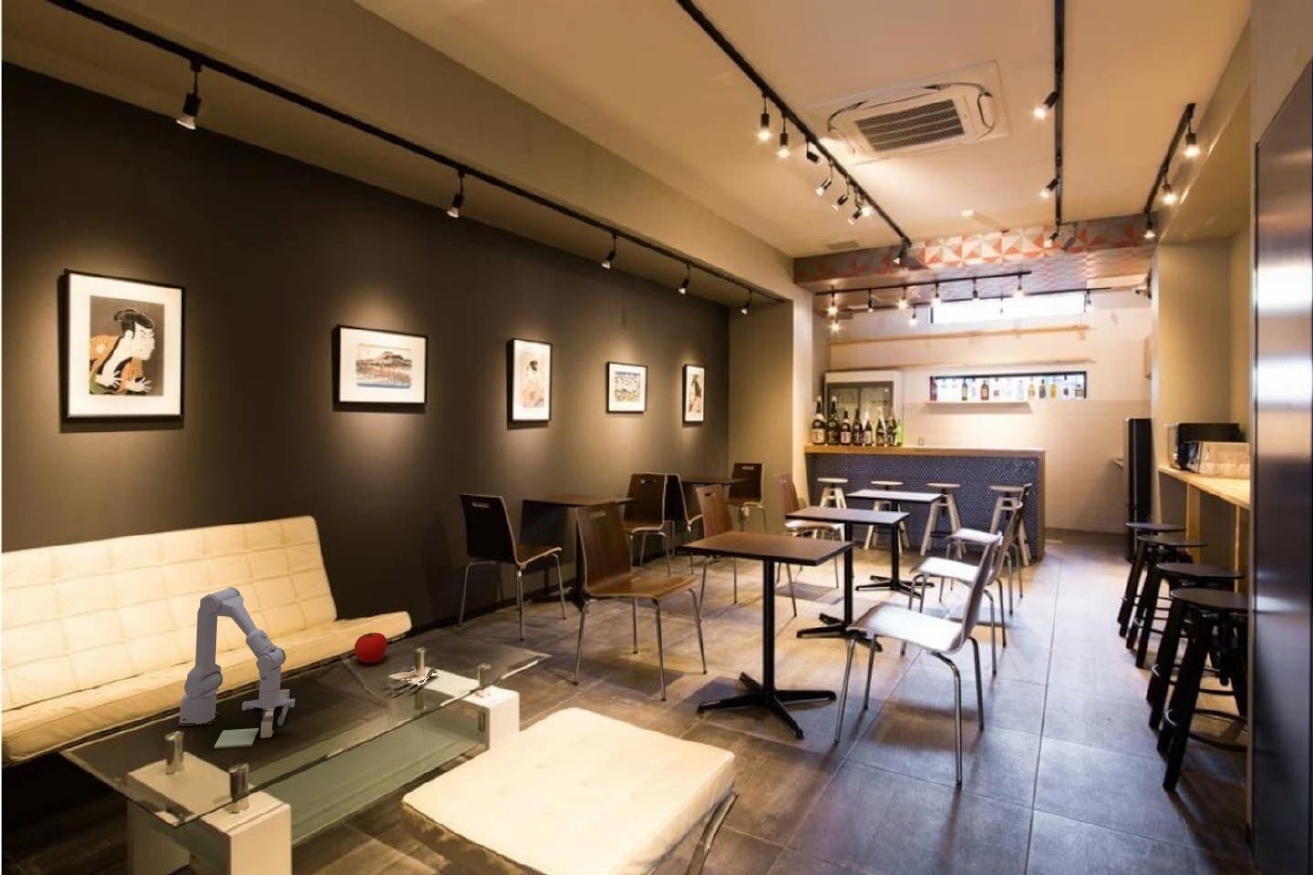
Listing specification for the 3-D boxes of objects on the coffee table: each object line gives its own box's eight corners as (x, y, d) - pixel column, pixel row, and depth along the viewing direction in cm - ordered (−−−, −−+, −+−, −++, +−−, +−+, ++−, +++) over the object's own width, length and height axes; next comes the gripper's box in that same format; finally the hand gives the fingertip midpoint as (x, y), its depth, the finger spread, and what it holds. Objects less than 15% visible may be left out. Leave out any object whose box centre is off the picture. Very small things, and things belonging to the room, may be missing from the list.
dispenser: (258, 727, 227) (260, 706, 226) (266, 709, 238) (267, 690, 238) (281, 725, 229) (282, 705, 228) (288, 708, 240) (289, 689, 240)
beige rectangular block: (260, 737, 220) (261, 722, 220) (266, 722, 230) (267, 707, 229) (271, 736, 221) (272, 721, 221) (277, 722, 231) (278, 707, 230)
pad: (214, 748, 212) (214, 746, 212) (222, 732, 221) (223, 730, 221) (251, 745, 215) (251, 743, 215) (258, 729, 225) (258, 728, 225)
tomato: (394, 659, 289) (396, 632, 288) (368, 670, 277) (370, 641, 276) (372, 652, 294) (374, 625, 294) (345, 662, 282) (347, 635, 281)
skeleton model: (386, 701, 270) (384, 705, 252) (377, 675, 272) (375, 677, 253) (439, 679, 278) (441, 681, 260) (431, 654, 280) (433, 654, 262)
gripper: (240, 694, 216) (238, 737, 217) (293, 691, 220) (290, 733, 221) (246, 685, 222) (243, 726, 223) (296, 682, 227) (294, 723, 228)
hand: (267, 729), depth 223 cm, fingers closed on beige rectangular block, 3 cm apart
